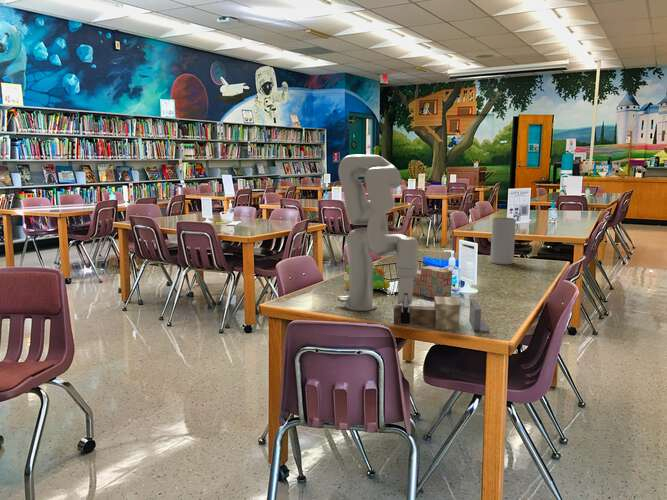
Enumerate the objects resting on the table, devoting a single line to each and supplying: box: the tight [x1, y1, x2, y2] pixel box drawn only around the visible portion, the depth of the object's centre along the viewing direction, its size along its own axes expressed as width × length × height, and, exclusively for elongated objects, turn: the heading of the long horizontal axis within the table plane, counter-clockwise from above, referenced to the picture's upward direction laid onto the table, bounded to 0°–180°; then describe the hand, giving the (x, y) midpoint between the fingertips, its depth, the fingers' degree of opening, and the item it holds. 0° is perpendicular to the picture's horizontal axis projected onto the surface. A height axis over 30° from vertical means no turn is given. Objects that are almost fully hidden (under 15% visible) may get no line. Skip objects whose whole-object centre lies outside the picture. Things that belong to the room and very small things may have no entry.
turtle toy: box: [344, 264, 391, 291], centre depth 264 cm, size 17×23×12 cm
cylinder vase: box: [490, 216, 517, 266], centre depth 327 cm, size 12×12×25 cm
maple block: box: [434, 296, 461, 331], centre depth 208 cm, size 8×11×9 cm
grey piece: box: [468, 298, 490, 333], centre depth 207 cm, size 5×14×8 cm, turn 174°
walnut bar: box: [393, 304, 436, 327], centre depth 210 cm, size 18×5×6 cm, turn 83°
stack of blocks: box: [413, 265, 453, 299], centre depth 253 cm, size 21×6×12 cm, turn 40°
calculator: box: [400, 298, 435, 307], centre depth 230 cm, size 13×20×2 cm, turn 41°
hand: (405, 320), depth 211 cm, fingers closed on walnut bar, 4 cm apart
